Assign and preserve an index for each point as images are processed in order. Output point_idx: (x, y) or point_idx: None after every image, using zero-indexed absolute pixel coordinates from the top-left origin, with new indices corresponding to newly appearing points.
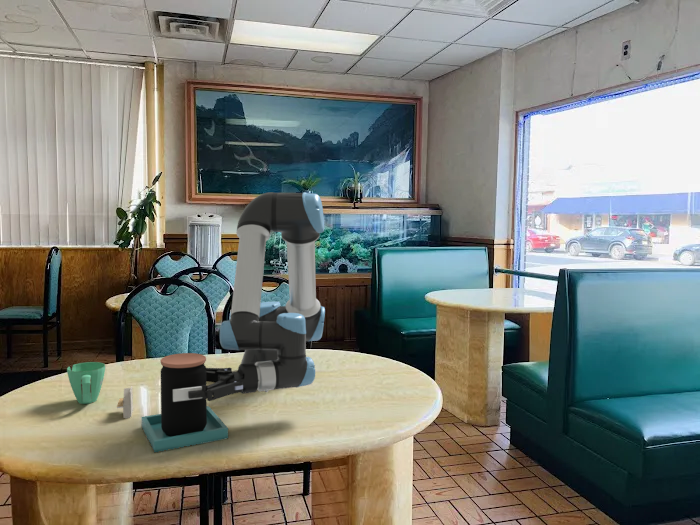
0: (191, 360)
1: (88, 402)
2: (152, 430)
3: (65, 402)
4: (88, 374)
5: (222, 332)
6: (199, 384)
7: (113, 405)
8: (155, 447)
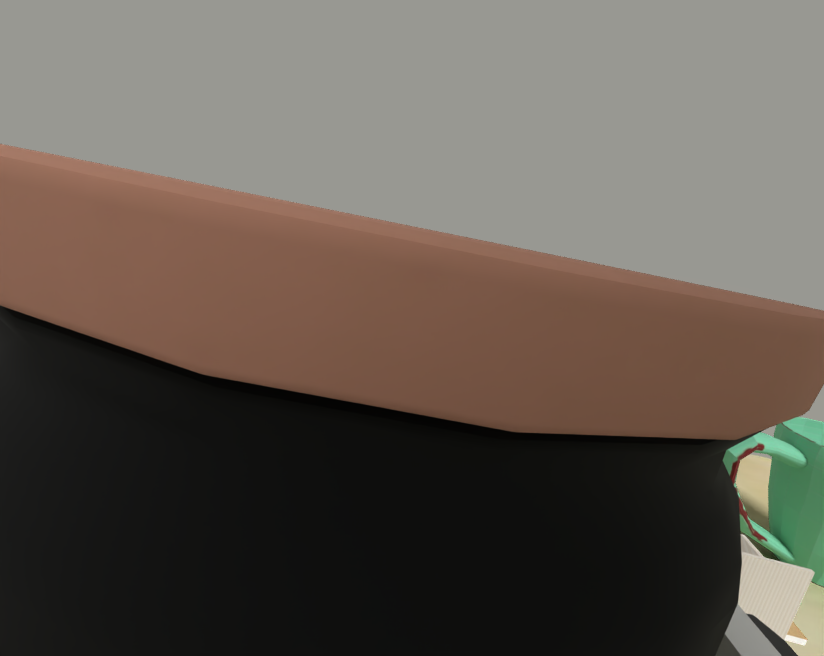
0: (201, 184)
1: (782, 558)
2: None
3: (768, 521)
4: (800, 450)
5: None
6: None
7: (800, 629)
8: None
